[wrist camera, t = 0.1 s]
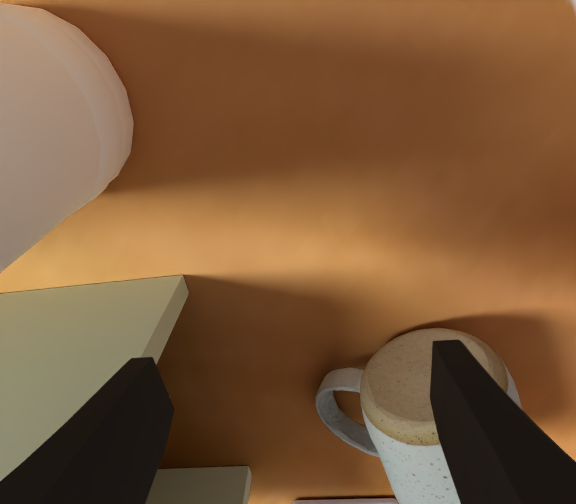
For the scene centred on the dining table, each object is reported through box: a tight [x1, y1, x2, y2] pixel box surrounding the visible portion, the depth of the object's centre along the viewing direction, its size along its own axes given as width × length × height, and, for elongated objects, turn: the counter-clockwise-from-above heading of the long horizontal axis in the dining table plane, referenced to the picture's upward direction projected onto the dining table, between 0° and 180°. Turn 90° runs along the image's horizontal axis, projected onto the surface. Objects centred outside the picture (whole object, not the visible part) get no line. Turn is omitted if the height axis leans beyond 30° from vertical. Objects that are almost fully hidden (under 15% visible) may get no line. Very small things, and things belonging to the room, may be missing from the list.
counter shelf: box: [0, 275, 252, 504], centre depth 22 cm, size 18×15×12 cm
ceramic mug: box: [315, 328, 522, 504], centre depth 21 cm, size 11×8×8 cm
